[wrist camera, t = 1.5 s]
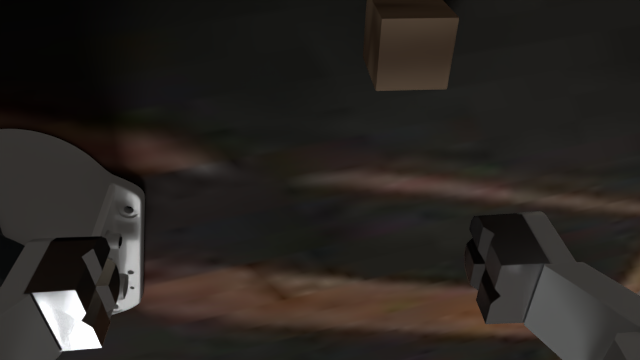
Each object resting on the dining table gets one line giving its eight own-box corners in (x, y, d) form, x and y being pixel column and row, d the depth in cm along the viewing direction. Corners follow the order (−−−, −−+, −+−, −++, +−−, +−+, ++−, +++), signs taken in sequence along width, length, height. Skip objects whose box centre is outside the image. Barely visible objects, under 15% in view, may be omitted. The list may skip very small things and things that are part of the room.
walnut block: (425, 55, 40) (446, 89, 36) (362, 56, 40) (375, 90, 35) (434, -10, 38) (459, 17, 33) (367, -9, 37) (382, 18, 32)
